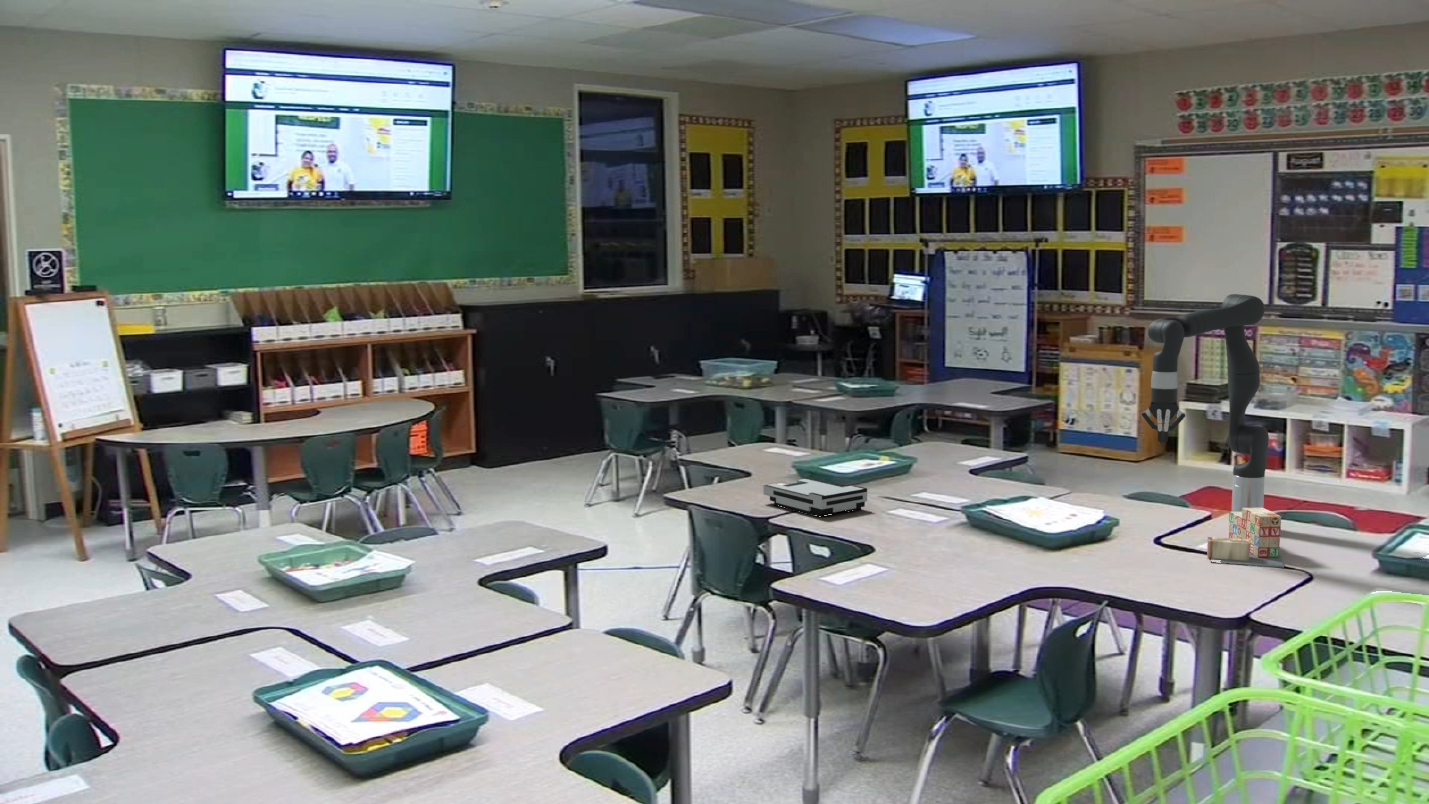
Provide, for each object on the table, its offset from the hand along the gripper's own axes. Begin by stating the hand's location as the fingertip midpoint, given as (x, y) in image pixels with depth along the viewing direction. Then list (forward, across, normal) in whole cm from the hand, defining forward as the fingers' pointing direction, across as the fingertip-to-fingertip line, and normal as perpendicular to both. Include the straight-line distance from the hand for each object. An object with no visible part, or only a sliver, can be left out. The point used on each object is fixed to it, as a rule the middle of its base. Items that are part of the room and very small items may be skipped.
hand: (1162, 443), depth 364 cm
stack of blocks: (+31, -26, 0) cm, 41 cm away
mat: (+31, -24, +13) cm, 41 cm away
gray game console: (+32, +115, -20) cm, 121 cm away
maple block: (+28, -13, +13) cm, 34 cm away
